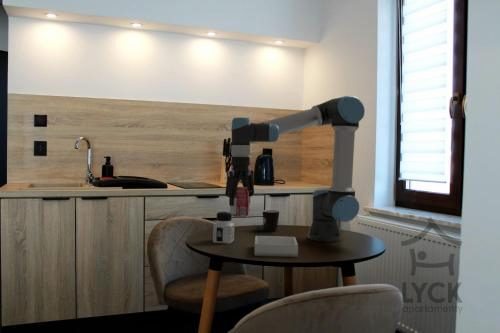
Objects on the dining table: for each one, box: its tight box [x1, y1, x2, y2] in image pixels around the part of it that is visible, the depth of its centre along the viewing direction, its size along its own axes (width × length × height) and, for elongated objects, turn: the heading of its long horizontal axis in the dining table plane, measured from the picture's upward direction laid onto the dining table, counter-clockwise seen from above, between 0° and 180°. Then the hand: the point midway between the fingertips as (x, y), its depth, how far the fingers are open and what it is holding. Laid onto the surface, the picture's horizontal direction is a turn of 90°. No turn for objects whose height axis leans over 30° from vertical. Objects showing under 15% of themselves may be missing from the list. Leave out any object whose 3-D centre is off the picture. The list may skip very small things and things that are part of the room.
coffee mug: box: [261, 209, 280, 233], centre depth 233 cm, size 12×9×10 cm
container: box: [212, 211, 235, 244], centre depth 201 cm, size 8×8×13 cm
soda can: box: [232, 186, 250, 219], centre depth 185 cm, size 7×7×12 cm
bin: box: [254, 235, 299, 258], centre depth 184 cm, size 17×17×4 cm
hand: (239, 212), depth 185 cm, fingers closed on soda can, 7 cm apart
